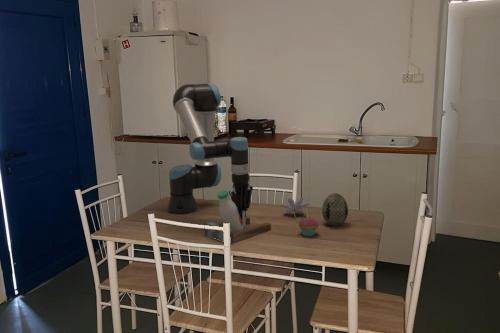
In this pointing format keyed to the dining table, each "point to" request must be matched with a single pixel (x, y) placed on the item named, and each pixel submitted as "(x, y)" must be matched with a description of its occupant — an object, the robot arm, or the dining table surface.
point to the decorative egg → (335, 209)
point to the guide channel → (239, 235)
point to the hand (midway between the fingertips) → (242, 224)
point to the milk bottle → (229, 212)
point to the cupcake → (308, 225)
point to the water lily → (294, 206)
